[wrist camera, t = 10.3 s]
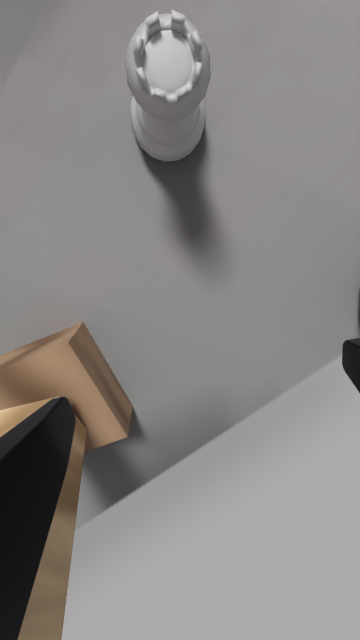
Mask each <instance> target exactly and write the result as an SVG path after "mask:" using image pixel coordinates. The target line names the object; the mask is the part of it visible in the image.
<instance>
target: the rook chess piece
mask: <svg viewBox="0 0 360 640" xmlns="http://www.w3.org/2000/svg"><path fill="white" fill-rule="evenodd" d="M125 66H126V74H127V82H128V86H129V88H130V90H131V92H132V94H133V97H132V102H131V106H130V115H131V123H132V130H133V133H134V135H135V137H136V139H137V141H138V143H139V145H140V147H141V148H142V149H143V150H145V151H146V152H147V153H148V154H149V155H150V156H151V157H153V158H156V159H159V160H161V161H164V162H167V161H177V160H180V159H182V158H183V157H185V156H187V155H188V154H190V153H191V152H192V151H193V149H194V148H195V147H196V145H197V144H198V143H199V141H200V139H201V135H202V132H203V129H204V125H205V103H204V100H203V98H204V97H205V94H206V91H207V87H208V84H209V80H210V77H211V76H210V55H209V52H208V50H207V47H206V44H205V41H204V39H203V36H202V35H201V34H200V32H199V31H198V30H197V29H196V28H195V27H194V25H193V24H192V23H191V22H190V21H189V20H187V19H186V16H185V15H183V14H181V13H178V12H176V11H174V10H172V13H168V14H158V12H157V11H156V12H155V13H154V14H152V15H151V16H149V17H148V18H146V19H145V22H143V23H142V24H141V25H139V27H138V29H137V30H136V32H135V34H134V35H133V37H132V39H131V40H130V42H129V46H128V51H127V56H126V61H125Z"/></svg>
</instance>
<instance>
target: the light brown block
mask: <svg viewBox="0 0 360 640" xmlns="http://www.w3.org/2000/svg"><path fill="white" fill-rule="evenodd" d="M58 396H60V397H63V396H64V397H66V398H67V399H68V400H69V403H70V405H71V407H72V410H73V412H74V414H75V415H76V417H77V418H78V419H79V420H80V422H81V423H82V424H83V425H84V426H85V428H86V429H87V432H86V440H85V448H84V452H87V451H90V450H92V449H95V448H98V447H101V446H104V445H107V444H109V443H112V442H115V441H118V440H121V439H124V438H126V437H128V433H129V427H130V421H131V415H132V410H133V406H132V404H131V402H130V401H129V399H128V397H127V396H126V394H125V392H124V391H123V389H122V387H121V385H120V384H119V382H118V380H117V379H116V377H115V375H114V374H113V372H112V370H111V369H110V367H109V365H108V363H107V362H106V360H105V358H104V357H103V355H102V353H101V352H100V350H99V348H98V347H97V345H96V343H95V341H94V340H93V338H92V336H91V335H90V333H89V331H88V330H87V328H86V326H85V324H84V323H83V322H82V323H80V324H77V325H75V326H72V327H70V328H67V329H65V330H62V331H60V332H57V333H55V334H52V335H50V336H48V337H45V338H43V339H40V340H38V341H35V342H33V343H30V344H28V345H25V346H23V347H21V348H18V349H16V350H13V351H11V352H8V353H6V354H3V355H1V356H0V410H4V409H8V408H12V407H16V406H20V405H24V404H29V403H33V402H37V401H41V400H45V399H50V398H54V397H58Z"/></svg>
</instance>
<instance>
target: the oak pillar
mask: <svg viewBox="0 0 360 640" xmlns="http://www.w3.org/2000/svg"><path fill="white" fill-rule="evenodd" d="M58 397H60V396H58ZM54 398H57V397H54ZM51 399H53V398H50V399H45V400H41V401H37V402H33V403H29V404H24V405H20V406H16V407H12V408H8V409H4V410H0V437H1V436H3V435H4V434H5V433H7V432H8V431H9V430H11V429H12V428H13V427H15V426H16V425H17V424H19V423H20V422H21V421H23V420H24V419H25V418H27V417H28V416H30V415H31V414H32V413H34V412H35V411H36V410H38V409H39V408H40V407H42V406H43V405H44V404H46V403H47V402H48V401H50V400H51ZM75 417H76V415H75ZM86 432H87V429H86V428H85V426H84V425H83V424H82V423H81V422H80V420H79V419H78V418H77V417H76V425H75V431H74V436H73V442H72V447H71V453H70V458H69V463H68V468H67V472H66V475H65V479H64V482H63V486H62V489H61V493H60V496H59V499H58V503H57V506H56V510H55V513H54V517H53V520H52V524H51V527H50V530H49V534H48V537H47V541H46V544H45V548H44V551H43V554H42V558H41V561H40V565H39V568H38V572H37V575H36V578H35V582H34V585H33V589H32V592H31V596H30V599H29V602H28V606H27V609H26V613H25V616H24V620H23V623H22V626H21V630H20V633H19V637H18V640H61V637H62V629H63V621H64V613H65V605H66V596H67V588H68V580H69V572H70V563H71V555H72V547H73V539H74V531H75V522H76V514H77V506H78V498H79V490H80V481H81V473H82V465H83V457H84V448H85V440H86Z"/></svg>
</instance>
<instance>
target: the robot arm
mask: <svg viewBox="0 0 360 640" xmlns="http://www.w3.org/2000/svg"><path fill="white" fill-rule="evenodd" d="M342 364H343V368H344V370H345V372H346V374H347V375H348V376H349V378H350V379H351V381H352V382H353V384H354V385H355V387H356V388H357V390H358V391H359V392H360V338H355V339H350V340H346V341H345V342H344V343H343V353H342ZM75 425H76V417H75V414H74V412H73V410H72V407H71V405H70V403H69V400H68V399H67V398H66V397H64V396H63V397H57V398H53V399H51V400H50V401H48V402H47V403H46V404H44V405H43V406H42V407H40V408H39V409H38V410H36V411H35V412H34V413H32V414H31V415H30V416H28V417H27V418H25V419H24V420H23V421H21V422H20V423H19V424H17V425H16V426H15V427H13V428H12V429H11V430H9V431H8V432H7V433H5V434H4V435H3V436H1V437H0V640H18V637H19V633H20V630H21V626H22V623H23V620H24V616H25V613H26V609H27V606H28V602H29V599H30V596H31V592H32V589H33V585H34V582H35V578H36V575H37V572H38V568H39V565H40V561H41V558H42V554H43V551H44V548H45V544H46V541H47V537H48V534H49V530H50V527H51V524H52V520H53V517H54V513H55V510H56V506H57V503H58V499H59V496H60V493H61V489H62V486H63V482H64V479H65V475H66V472H67V468H68V463H69V458H70V453H71V447H72V442H73V436H74V431H75Z"/></svg>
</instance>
